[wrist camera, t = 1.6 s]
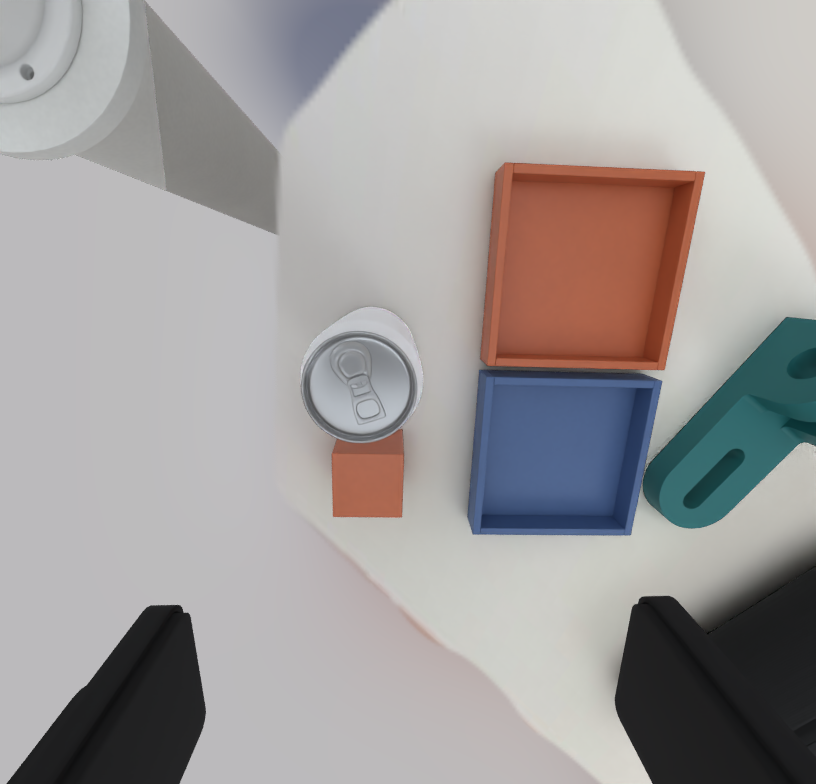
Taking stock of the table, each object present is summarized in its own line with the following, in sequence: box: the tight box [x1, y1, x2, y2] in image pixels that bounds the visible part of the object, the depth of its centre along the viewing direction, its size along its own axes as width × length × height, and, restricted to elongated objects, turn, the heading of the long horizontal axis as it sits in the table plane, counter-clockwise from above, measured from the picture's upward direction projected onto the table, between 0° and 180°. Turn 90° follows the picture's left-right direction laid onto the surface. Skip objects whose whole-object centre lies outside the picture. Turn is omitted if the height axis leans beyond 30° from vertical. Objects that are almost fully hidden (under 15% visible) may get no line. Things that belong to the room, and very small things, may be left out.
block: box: [332, 429, 404, 517], centre depth 31 cm, size 5×5×5 cm
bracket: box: [643, 317, 816, 528], centre depth 30 cm, size 18×7×8 cm, turn 144°
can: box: [300, 307, 423, 443], centre depth 25 cm, size 6×6×12 cm
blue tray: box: [468, 370, 662, 535], centre depth 32 cm, size 13×13×2 cm
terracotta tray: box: [480, 163, 705, 370], centre depth 29 cm, size 13×13×2 cm
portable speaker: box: [708, 566, 816, 757], centre depth 35 cm, size 26×10×10 cm, turn 131°
